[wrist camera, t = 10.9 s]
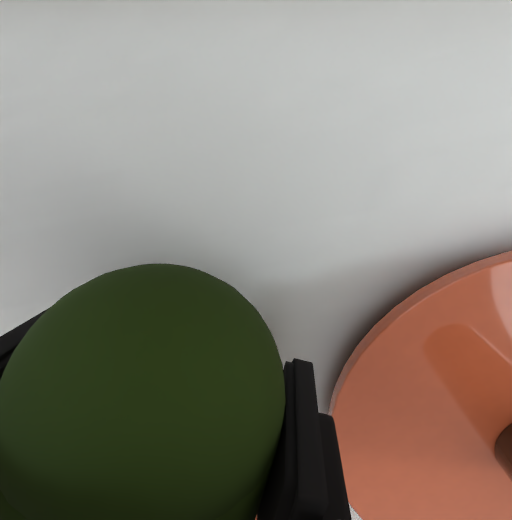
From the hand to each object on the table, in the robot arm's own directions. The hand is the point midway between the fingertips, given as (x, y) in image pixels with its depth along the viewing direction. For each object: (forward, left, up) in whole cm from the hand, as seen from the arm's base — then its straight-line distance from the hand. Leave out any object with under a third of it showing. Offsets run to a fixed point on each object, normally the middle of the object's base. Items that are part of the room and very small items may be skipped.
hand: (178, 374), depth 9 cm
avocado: (0, 0, -1) cm, 1 cm away
